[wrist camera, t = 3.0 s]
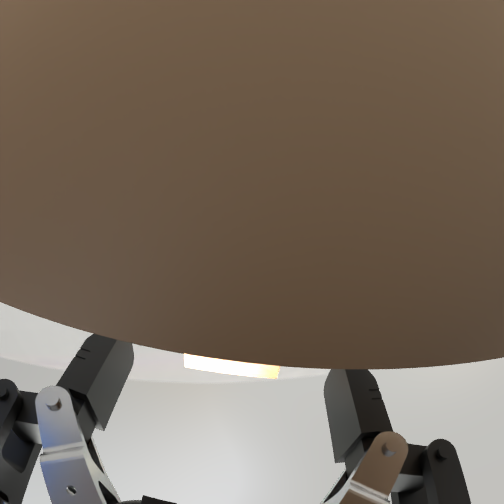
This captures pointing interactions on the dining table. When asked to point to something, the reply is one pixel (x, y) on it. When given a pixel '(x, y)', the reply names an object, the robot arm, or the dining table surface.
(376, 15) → the brown wooden block
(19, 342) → the dining table surface
